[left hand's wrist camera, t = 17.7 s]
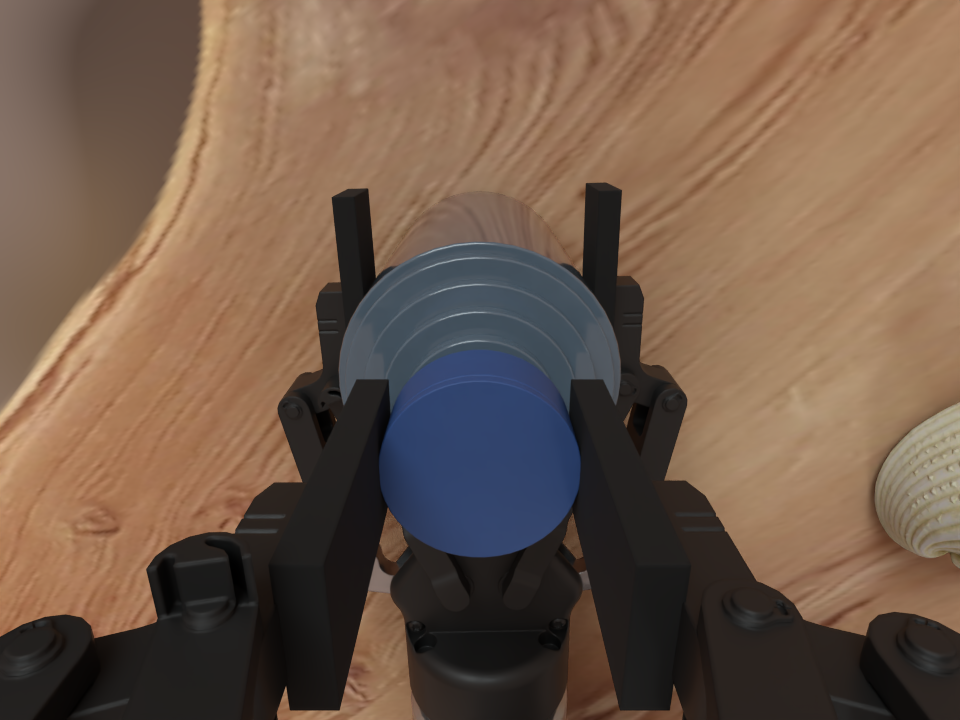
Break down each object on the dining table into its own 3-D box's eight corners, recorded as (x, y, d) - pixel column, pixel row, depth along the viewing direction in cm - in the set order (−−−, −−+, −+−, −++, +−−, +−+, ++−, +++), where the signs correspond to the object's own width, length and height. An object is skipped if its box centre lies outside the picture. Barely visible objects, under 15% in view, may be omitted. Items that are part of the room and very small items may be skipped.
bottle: (540, 168, 28) (621, 231, 12) (582, 332, 30) (694, 562, 15) (370, 221, 29) (232, 347, 13) (426, 377, 31) (371, 640, 15)
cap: (362, 380, 14) (345, 415, 13) (541, 324, 14) (550, 353, 12) (425, 527, 16) (419, 578, 14) (589, 482, 15) (603, 529, 14)
